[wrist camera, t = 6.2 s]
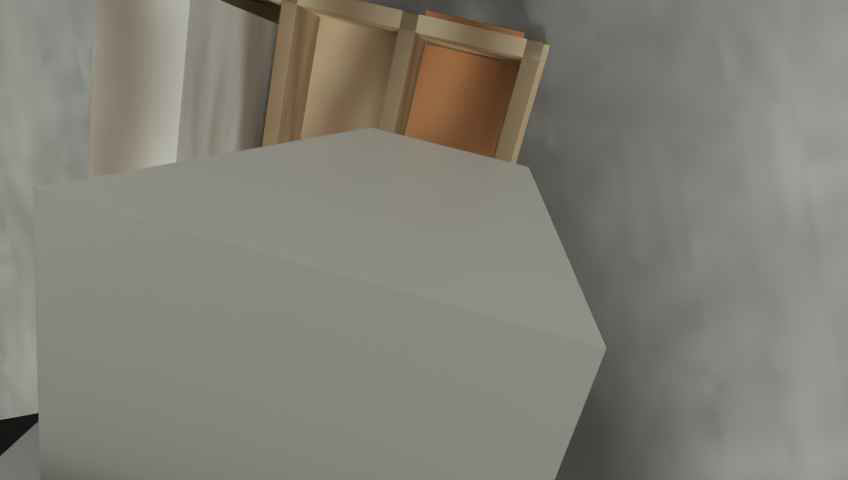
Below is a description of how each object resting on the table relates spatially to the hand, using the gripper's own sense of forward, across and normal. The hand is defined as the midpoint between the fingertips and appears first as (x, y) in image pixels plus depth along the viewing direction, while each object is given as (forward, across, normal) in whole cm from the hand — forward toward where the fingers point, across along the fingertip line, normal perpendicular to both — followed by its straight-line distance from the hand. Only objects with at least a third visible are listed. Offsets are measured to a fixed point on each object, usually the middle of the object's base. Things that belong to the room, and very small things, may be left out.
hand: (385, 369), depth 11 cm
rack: (+18, +7, -2) cm, 20 cm away
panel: (+2, 0, 0) cm, 2 cm away
